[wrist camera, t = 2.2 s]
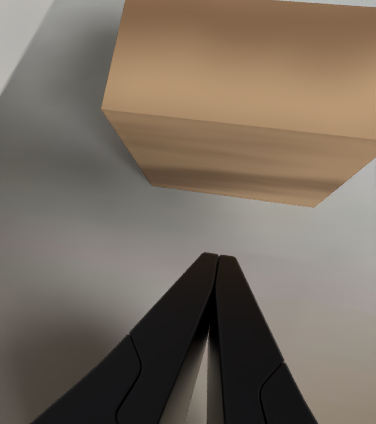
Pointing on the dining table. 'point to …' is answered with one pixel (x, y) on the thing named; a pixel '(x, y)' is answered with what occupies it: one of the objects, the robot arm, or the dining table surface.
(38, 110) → the dining table surface
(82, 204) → the dining table surface
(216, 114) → the light brown wooden block
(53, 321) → the dining table surface
